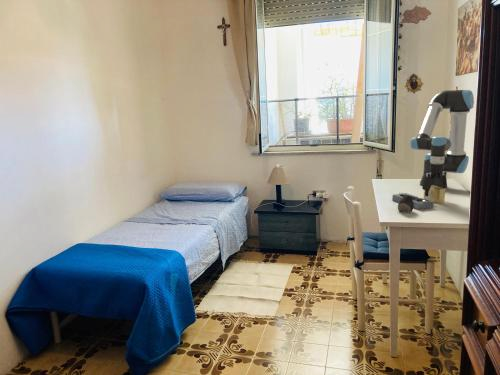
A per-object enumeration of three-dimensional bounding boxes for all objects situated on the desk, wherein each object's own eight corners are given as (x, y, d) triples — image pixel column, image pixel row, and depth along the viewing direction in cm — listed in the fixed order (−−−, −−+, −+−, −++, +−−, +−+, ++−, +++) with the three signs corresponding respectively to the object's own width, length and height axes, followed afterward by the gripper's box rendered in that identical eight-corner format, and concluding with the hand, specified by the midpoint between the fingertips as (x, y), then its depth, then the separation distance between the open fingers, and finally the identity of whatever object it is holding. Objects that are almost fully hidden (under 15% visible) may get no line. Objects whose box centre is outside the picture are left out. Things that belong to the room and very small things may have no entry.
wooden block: (428, 198, 235) (429, 184, 233) (444, 203, 224) (445, 188, 222) (423, 199, 234) (424, 184, 232) (438, 204, 223) (440, 189, 221)
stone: (400, 214, 212) (394, 202, 207) (403, 204, 216) (397, 192, 211) (414, 213, 207) (408, 202, 202) (417, 203, 211) (411, 191, 206)
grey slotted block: (405, 198, 235) (406, 191, 235) (433, 207, 215) (433, 200, 214) (392, 200, 232) (392, 193, 231) (418, 209, 212) (419, 202, 211)
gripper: (426, 165, 217) (423, 203, 222) (456, 162, 224) (452, 199, 229) (417, 163, 224) (414, 200, 229) (446, 160, 230) (443, 197, 235)
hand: (433, 200), depth 229 cm, fingers open, 9 cm apart
